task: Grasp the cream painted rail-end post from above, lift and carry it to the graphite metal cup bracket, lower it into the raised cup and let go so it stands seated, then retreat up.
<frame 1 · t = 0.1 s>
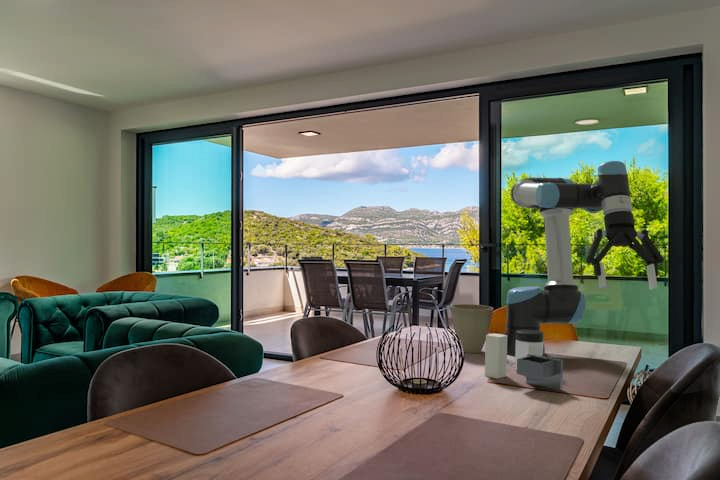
hand: (628, 288, 147), 28 cm above the table, tool tilted 20°, fingers open, 13 cm apart
plant pot: (470, 351, 196), on the table
cup bracket: (536, 389, 148), on the table
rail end: (495, 375, 161), on the table
jar: (528, 371, 169), on the table
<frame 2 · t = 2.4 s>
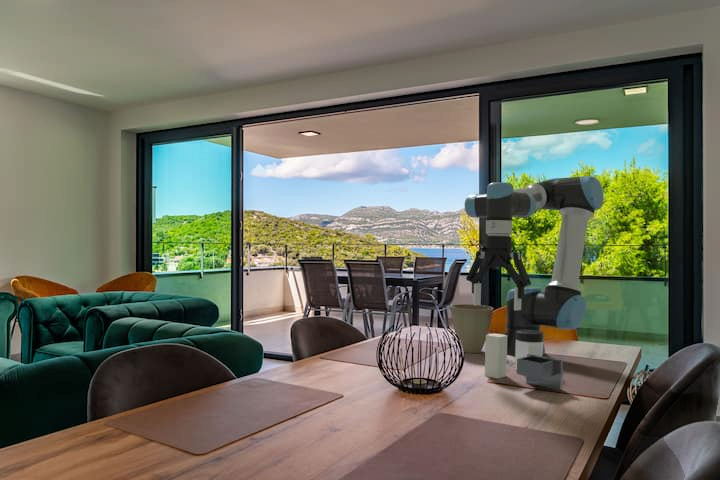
hand: (496, 307, 161), 20 cm above the table, tool pointing down, fingers open, 13 cm apart
nothing on the table moved.
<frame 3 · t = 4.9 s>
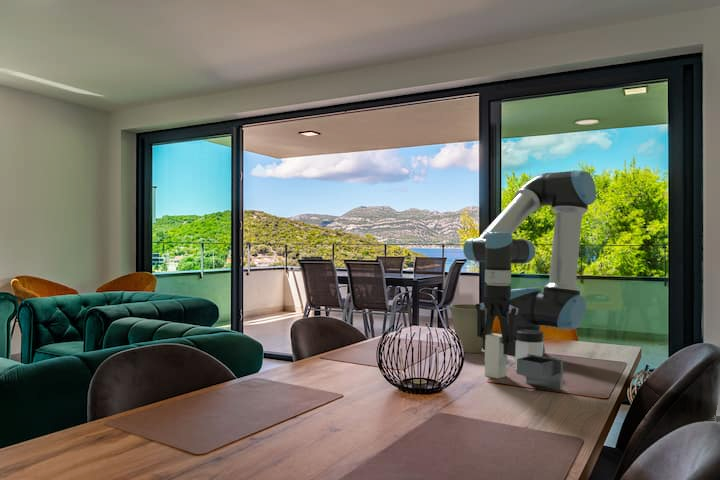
hand: (495, 363, 161), 4 cm above the table, tool pointing down, fingers closed on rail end, 4 cm apart
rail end: (495, 375, 161), on the table, touching gripper
everything else where it was.
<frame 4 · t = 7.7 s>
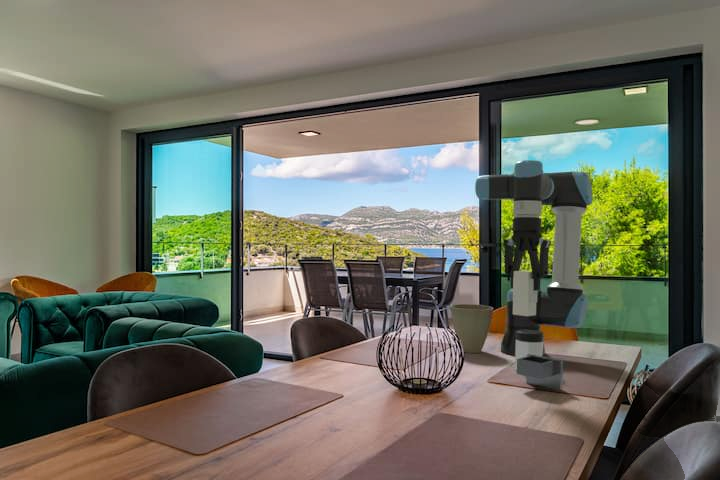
hand: (524, 301, 151), 23 cm above the table, tool pointing down, fingers closed on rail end, 4 cm apart
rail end: (524, 314, 151), point 20 cm above the table, touching gripper
everything else where it was.
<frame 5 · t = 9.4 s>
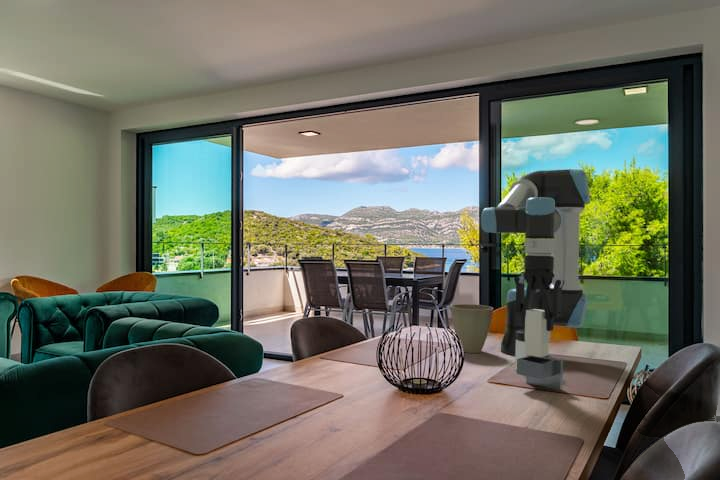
hand: (537, 341, 148), 13 cm above the table, tool pointing down, fingers closed on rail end, 4 cm apart
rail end: (536, 354, 148), point 9 cm above the table, touching gripper
everything else where it was.
when the fingers open (10 cm above the table, at t = 10.9 s): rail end drops 1 cm, resting on cup bracket.
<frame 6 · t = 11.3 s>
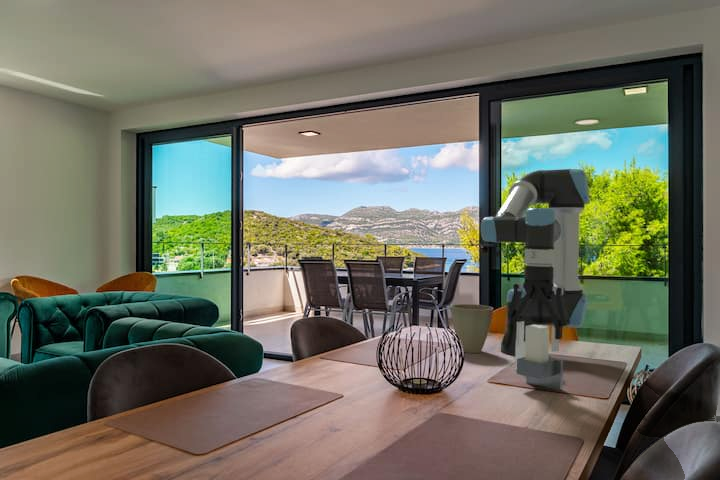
hand: (537, 348, 148), 11 cm above the table, tool pointing down, fingers open, 9 cm apart
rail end: (536, 370, 148), point 5 cm above the table, touching cup bracket
everything else where it was.
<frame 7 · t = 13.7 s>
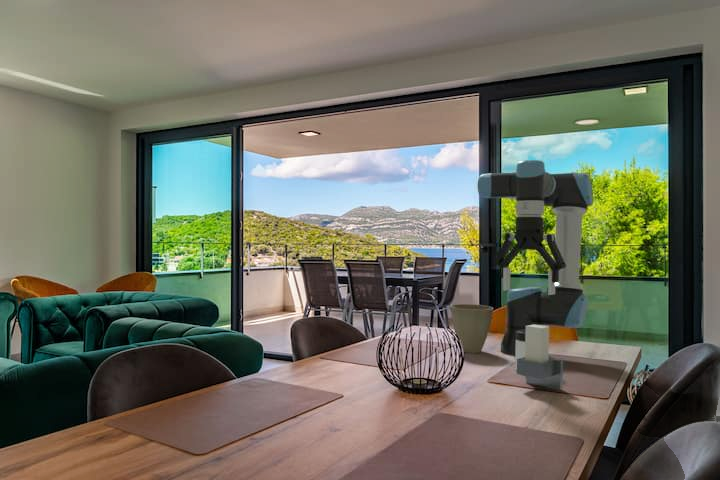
hand: (528, 292, 154), 26 cm above the table, tool pointing down, fingers open, 13 cm apart
nothing on the table moved.
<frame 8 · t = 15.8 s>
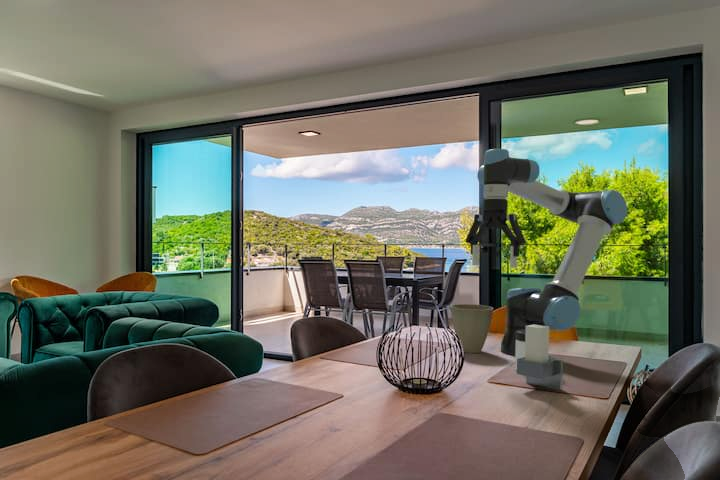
hand: (493, 266, 173), 32 cm above the table, tool pointing down, fingers open, 13 cm apart
nothing on the table moved.
at the end: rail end 0.0 cm off-centre on the cup bracket, point 5.0 cm above the cup bracket's base; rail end tilted 0°; the gripper is holding nothing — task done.
